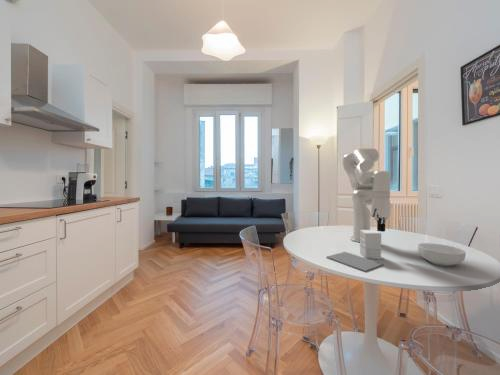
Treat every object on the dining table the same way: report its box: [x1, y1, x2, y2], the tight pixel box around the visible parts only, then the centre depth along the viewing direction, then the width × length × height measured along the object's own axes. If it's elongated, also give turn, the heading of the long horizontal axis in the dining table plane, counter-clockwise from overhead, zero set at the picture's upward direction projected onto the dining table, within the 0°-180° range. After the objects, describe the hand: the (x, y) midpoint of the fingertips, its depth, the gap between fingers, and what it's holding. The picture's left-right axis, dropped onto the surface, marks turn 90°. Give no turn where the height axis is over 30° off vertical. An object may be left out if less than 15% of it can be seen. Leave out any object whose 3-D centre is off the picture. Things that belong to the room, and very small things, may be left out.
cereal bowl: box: [417, 242, 467, 267], centre depth 106 cm, size 17×17×7 cm
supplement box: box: [359, 229, 382, 260], centre depth 115 cm, size 7×7×13 cm
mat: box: [326, 251, 384, 273], centre depth 108 cm, size 14×20×1 cm
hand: (381, 230), depth 119 cm, fingers closed
